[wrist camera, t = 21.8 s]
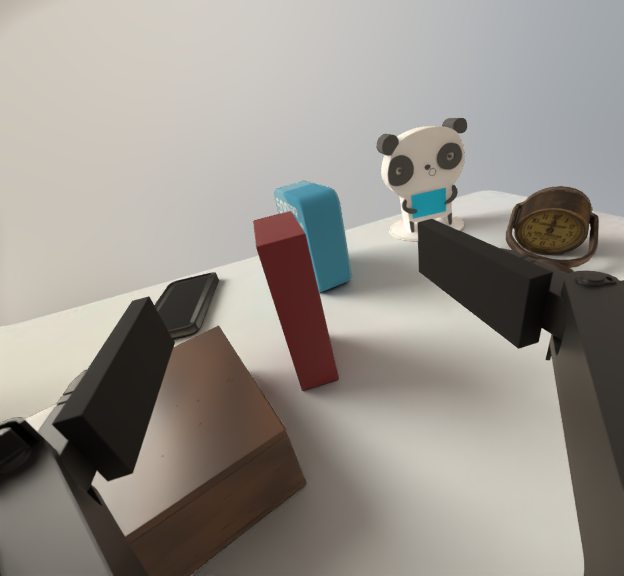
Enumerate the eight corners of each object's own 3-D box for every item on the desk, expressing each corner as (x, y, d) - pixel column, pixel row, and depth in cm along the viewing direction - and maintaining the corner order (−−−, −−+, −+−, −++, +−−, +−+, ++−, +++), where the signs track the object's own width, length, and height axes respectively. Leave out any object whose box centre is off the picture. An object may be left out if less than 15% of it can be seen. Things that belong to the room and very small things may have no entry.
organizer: (12, 713, 13) (-95, 687, 10) (58, 469, 23) (10, 425, 21) (307, 483, 18) (285, 429, 16) (238, 369, 29) (218, 325, 26)
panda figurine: (396, 248, 45) (388, 138, 38) (379, 225, 55) (369, 134, 48) (478, 231, 44) (485, 115, 37) (445, 210, 54) (446, 116, 47)
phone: (217, 271, 48) (194, 325, 35) (219, 277, 49) (197, 332, 36) (169, 282, 48) (128, 340, 35) (172, 288, 49) (133, 347, 36)
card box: (291, 343, 31) (252, 220, 24) (321, 334, 31) (291, 210, 25) (302, 391, 25) (255, 246, 19) (339, 379, 25) (305, 233, 19)
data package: (292, 265, 47) (271, 187, 42) (318, 256, 48) (301, 179, 43) (321, 297, 37) (299, 200, 31) (354, 284, 38) (338, 188, 32)
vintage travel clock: (650, 198, 30) (542, 173, 37) (600, 231, 24) (482, 194, 31) (607, 260, 34) (518, 228, 41) (556, 300, 28) (461, 256, 35)
